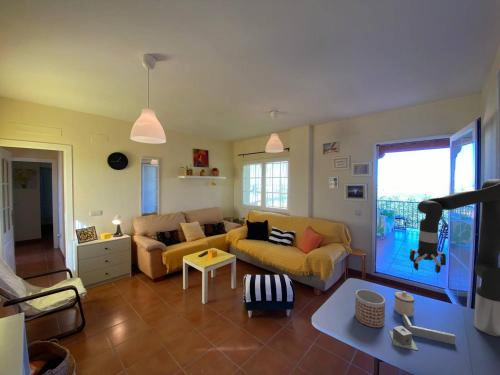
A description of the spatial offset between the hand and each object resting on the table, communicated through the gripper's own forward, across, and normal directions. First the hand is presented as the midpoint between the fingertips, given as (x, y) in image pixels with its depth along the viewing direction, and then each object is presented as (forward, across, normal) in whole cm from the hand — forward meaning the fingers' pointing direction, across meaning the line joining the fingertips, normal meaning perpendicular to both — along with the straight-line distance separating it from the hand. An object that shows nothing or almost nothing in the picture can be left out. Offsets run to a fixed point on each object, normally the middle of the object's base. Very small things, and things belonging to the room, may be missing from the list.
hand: (426, 271), depth 107 cm
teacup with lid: (+28, +7, -9) cm, 31 cm away
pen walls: (+28, +1, +6) cm, 29 cm away
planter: (+28, +26, +6) cm, 39 cm away
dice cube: (+28, +14, +18) cm, 36 cm away
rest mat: (+28, +14, +17) cm, 36 cm away
